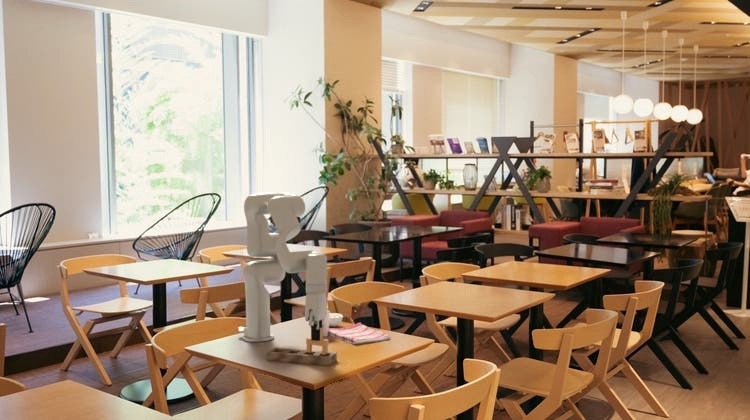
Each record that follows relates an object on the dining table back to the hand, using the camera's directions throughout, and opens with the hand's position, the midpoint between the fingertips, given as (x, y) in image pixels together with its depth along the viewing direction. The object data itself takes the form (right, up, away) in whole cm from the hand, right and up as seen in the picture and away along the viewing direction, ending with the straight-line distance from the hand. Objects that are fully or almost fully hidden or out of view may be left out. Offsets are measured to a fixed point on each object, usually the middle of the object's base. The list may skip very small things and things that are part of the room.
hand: (317, 339), depth 257 cm
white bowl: (+1, -5, +56) cm, 56 cm away
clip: (0, -5, 0) cm, 5 cm away
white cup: (-2, -6, +40) cm, 40 cm away
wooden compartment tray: (-6, -8, +2) cm, 10 cm away
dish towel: (+14, -6, +37) cm, 40 cm away
